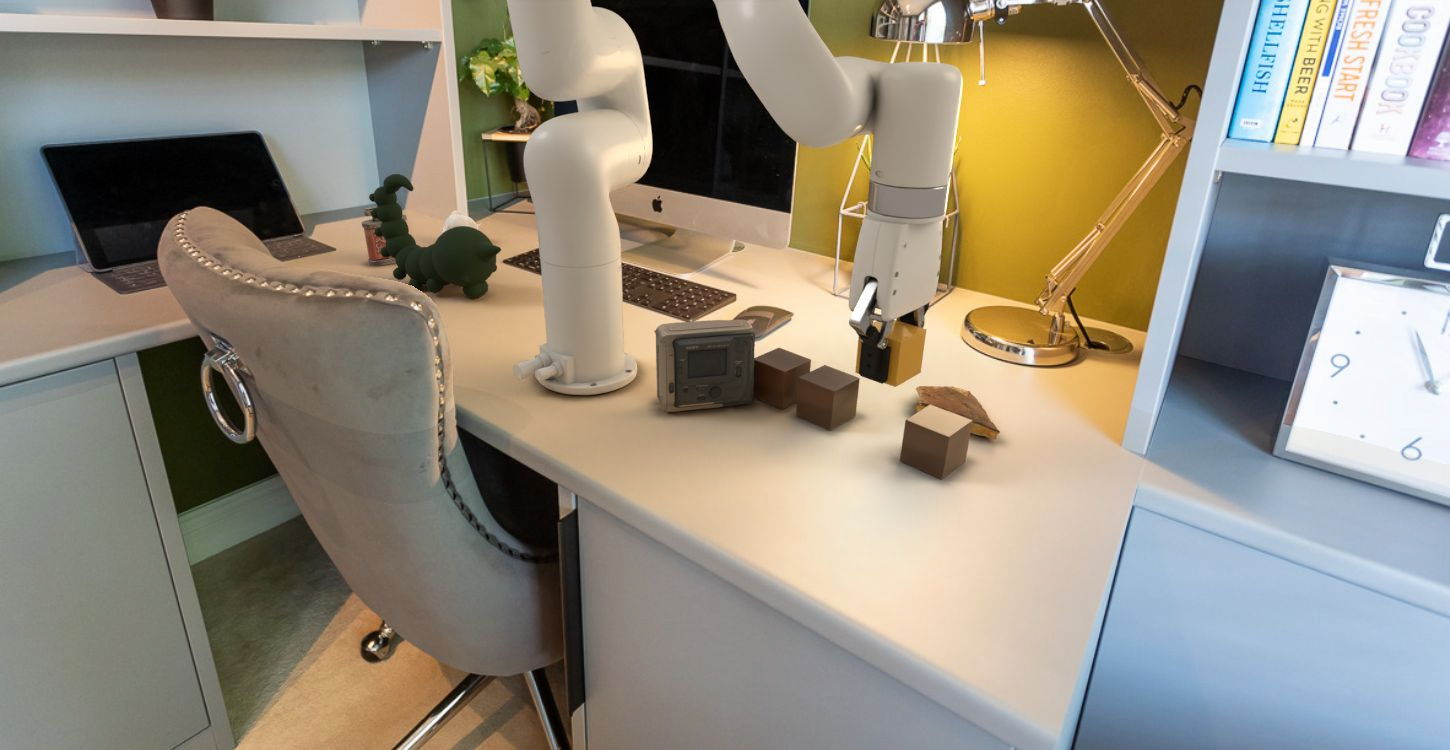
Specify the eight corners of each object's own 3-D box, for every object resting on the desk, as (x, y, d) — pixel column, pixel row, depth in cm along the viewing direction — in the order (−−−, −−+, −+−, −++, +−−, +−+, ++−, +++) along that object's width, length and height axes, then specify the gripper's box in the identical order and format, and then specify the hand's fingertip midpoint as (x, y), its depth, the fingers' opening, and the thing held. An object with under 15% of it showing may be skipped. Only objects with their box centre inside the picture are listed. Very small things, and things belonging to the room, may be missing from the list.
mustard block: (895, 387, 80) (900, 342, 78) (855, 372, 83) (859, 329, 81) (920, 372, 83) (926, 329, 81) (881, 359, 87) (885, 317, 84)
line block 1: (782, 410, 92) (784, 371, 90) (750, 396, 95) (752, 358, 93) (808, 396, 96) (811, 359, 93) (776, 383, 99) (779, 347, 97)
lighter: (405, 253, 144) (396, 199, 140) (416, 257, 142) (408, 202, 138) (364, 263, 138) (354, 207, 134) (375, 267, 136) (366, 210, 132)
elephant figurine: (439, 241, 152) (435, 210, 149) (481, 237, 155) (478, 207, 153) (445, 250, 146) (441, 219, 144) (488, 246, 150) (485, 215, 147)
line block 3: (941, 480, 79) (949, 437, 77) (899, 461, 83) (905, 419, 80) (965, 461, 83) (973, 420, 81) (923, 444, 86) (930, 404, 84)
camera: (745, 389, 97) (748, 313, 93) (756, 411, 92) (760, 332, 88) (653, 396, 95) (652, 319, 90) (660, 419, 90) (659, 338, 85)
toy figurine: (374, 295, 128) (487, 311, 117) (346, 178, 121) (464, 182, 110) (419, 280, 136) (529, 293, 125) (395, 168, 129) (510, 172, 117)
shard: (998, 443, 86) (1000, 429, 86) (929, 443, 86) (931, 428, 85) (967, 398, 96) (970, 385, 95) (906, 398, 96) (908, 385, 95)
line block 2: (830, 431, 88) (834, 391, 86) (795, 415, 91) (798, 377, 89) (855, 416, 91) (860, 377, 89) (821, 402, 94) (824, 364, 92)
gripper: (918, 182, 84) (900, 339, 91) (822, 207, 72) (810, 384, 80) (984, 193, 79) (959, 358, 87) (892, 222, 68) (872, 408, 75)
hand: (888, 369), depth 83 cm, fingers closed on mustard block, 5 cm apart
